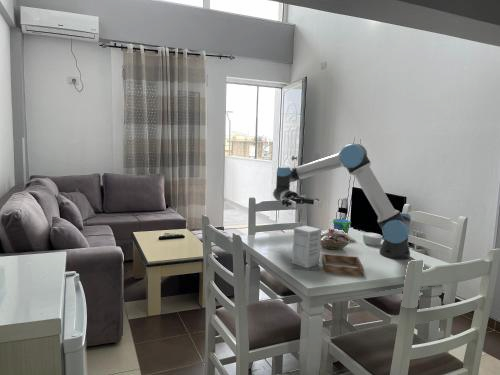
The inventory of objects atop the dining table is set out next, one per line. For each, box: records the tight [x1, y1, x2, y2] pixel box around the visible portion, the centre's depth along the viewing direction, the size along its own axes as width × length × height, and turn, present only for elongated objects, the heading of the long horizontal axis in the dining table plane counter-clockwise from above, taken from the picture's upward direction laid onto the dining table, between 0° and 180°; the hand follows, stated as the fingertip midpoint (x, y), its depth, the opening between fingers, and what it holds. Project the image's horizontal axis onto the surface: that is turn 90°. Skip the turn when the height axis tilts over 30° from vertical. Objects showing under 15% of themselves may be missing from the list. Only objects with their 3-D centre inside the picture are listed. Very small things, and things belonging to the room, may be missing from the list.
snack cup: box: [332, 218, 352, 235], centre depth 232 cm, size 16×10×10 cm
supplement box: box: [291, 225, 322, 268], centre depth 174 cm, size 10×9×17 cm
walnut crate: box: [321, 253, 365, 277], centre depth 174 cm, size 17×17×4 cm
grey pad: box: [291, 263, 320, 272], centre depth 176 cm, size 12×12×1 cm
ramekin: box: [362, 232, 384, 246], centre depth 221 cm, size 11×11×5 cm
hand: (308, 204), depth 180 cm, fingers open, 13 cm apart
